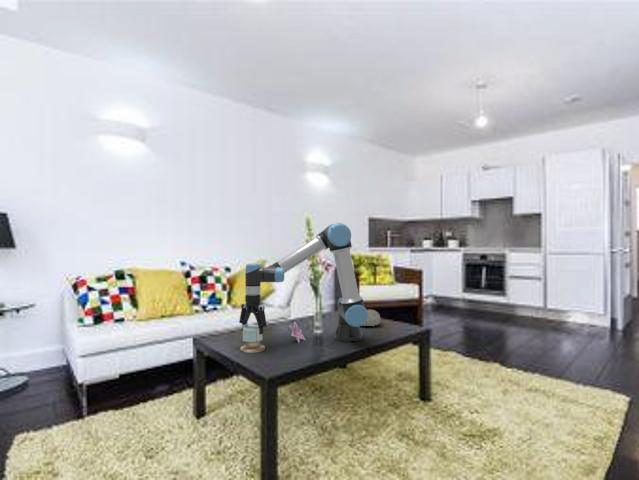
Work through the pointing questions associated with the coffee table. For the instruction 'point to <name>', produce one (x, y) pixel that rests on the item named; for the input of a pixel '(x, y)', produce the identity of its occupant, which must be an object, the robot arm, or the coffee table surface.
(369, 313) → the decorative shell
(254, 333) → the cap
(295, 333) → the lily
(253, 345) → the stud pedestal
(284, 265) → the robot arm
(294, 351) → the coffee table surface
